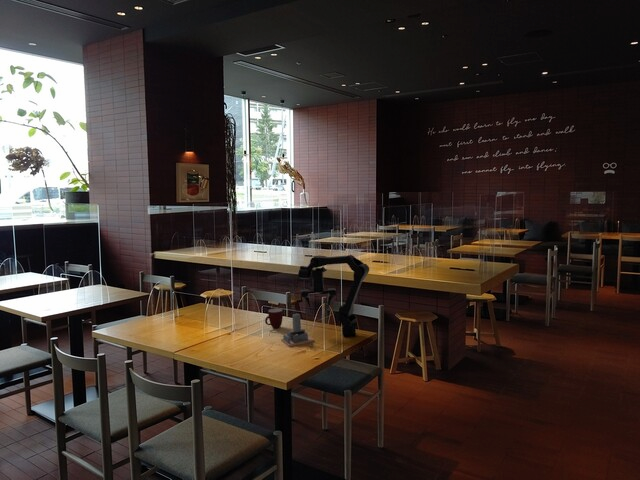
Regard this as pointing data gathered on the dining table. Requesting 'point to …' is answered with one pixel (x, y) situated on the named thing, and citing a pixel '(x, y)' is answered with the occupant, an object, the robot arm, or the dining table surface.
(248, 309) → the dining table surface
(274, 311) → the mug
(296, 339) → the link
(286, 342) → the plate
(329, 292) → the robot arm
